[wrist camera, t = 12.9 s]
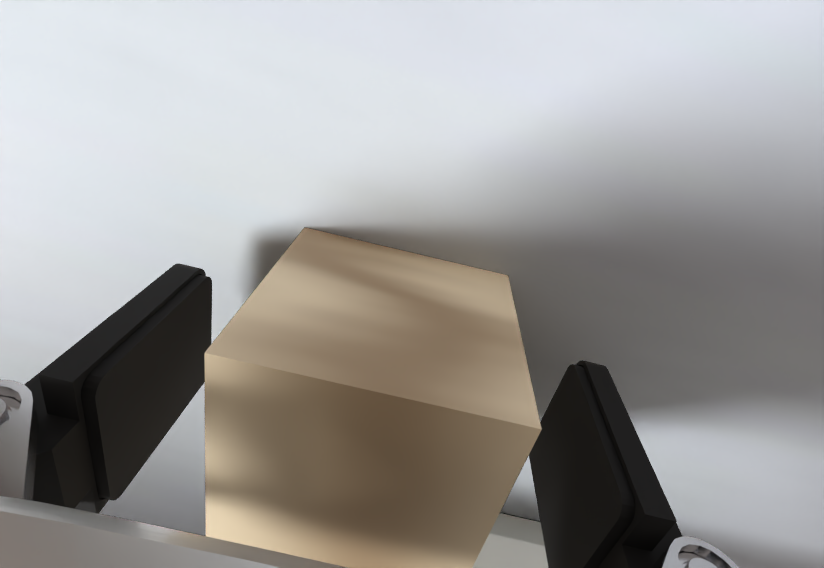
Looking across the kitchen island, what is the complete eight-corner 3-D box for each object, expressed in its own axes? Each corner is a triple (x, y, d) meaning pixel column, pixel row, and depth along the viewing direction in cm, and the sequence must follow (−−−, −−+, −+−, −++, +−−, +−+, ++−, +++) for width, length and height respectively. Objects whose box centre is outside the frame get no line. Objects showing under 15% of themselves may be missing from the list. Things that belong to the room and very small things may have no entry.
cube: (287, 382, 13) (205, 551, 9) (305, 226, 11) (204, 353, 7) (454, 419, 13) (453, 604, 9) (507, 274, 11) (541, 429, 7)
